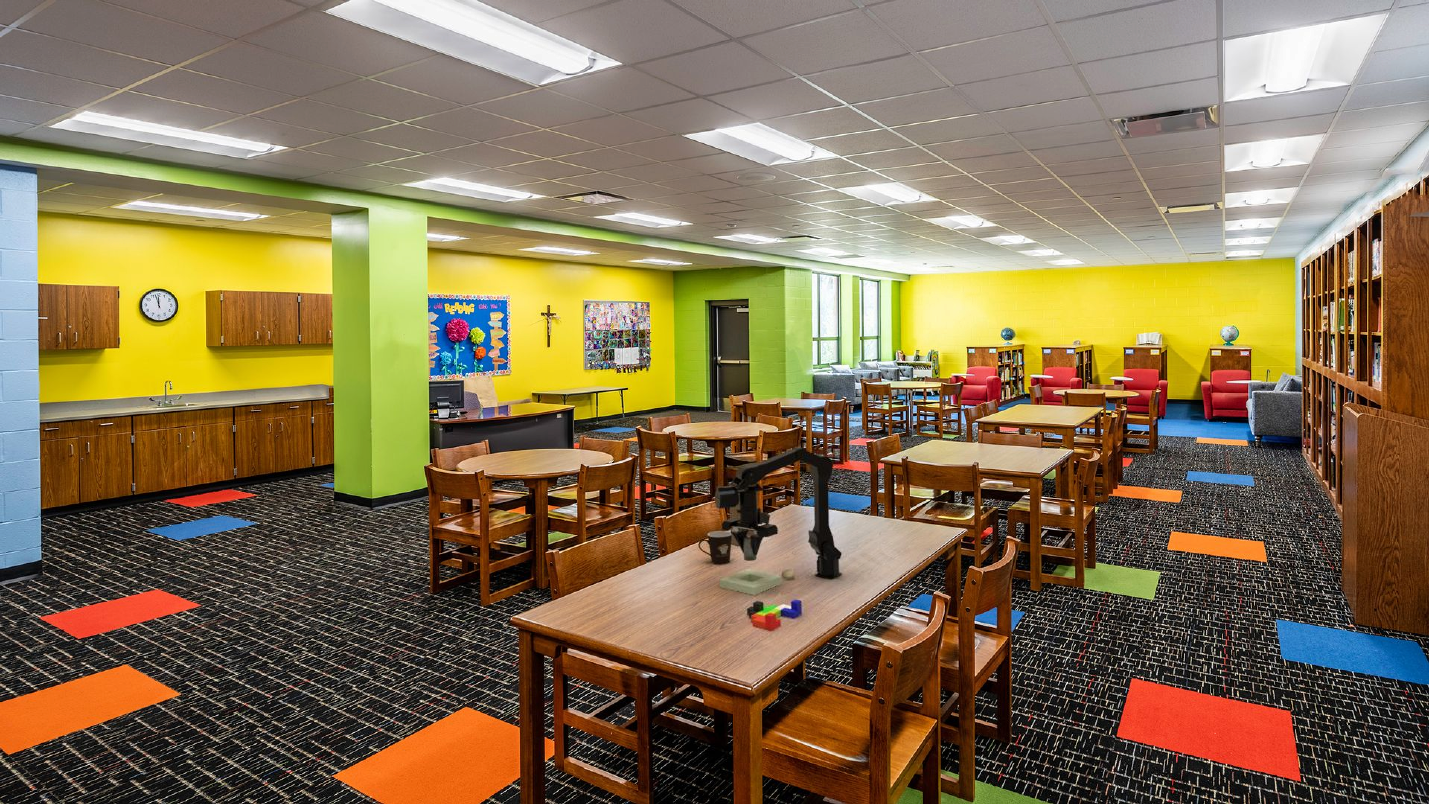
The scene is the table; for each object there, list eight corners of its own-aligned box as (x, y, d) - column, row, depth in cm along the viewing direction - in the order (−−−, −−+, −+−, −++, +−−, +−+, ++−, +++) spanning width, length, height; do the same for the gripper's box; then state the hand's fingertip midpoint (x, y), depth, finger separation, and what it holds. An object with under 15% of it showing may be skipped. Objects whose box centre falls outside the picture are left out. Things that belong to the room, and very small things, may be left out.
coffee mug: (733, 558, 279) (732, 531, 279) (732, 565, 271) (731, 537, 270) (701, 558, 281) (700, 531, 280) (698, 565, 272) (697, 537, 271)
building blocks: (764, 607, 228) (764, 592, 228) (802, 615, 220) (801, 600, 220) (733, 622, 216) (733, 607, 216) (772, 632, 208) (771, 616, 208)
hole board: (782, 583, 248) (781, 576, 248) (754, 595, 237) (754, 587, 237) (747, 576, 257) (747, 569, 257) (719, 587, 247) (719, 579, 247)
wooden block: (751, 548, 293) (749, 500, 291) (728, 544, 299) (727, 498, 298) (757, 546, 296) (755, 499, 294) (734, 542, 302) (732, 496, 301)
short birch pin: (796, 578, 254) (796, 570, 254) (789, 581, 251) (789, 573, 251) (786, 576, 257) (786, 568, 256) (779, 579, 254) (779, 571, 253)
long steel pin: (759, 558, 247) (758, 536, 246) (751, 561, 244) (750, 539, 243) (749, 556, 250) (748, 535, 249) (741, 559, 247) (740, 537, 246)
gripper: (787, 504, 245) (789, 552, 246) (741, 498, 258) (743, 544, 259) (765, 510, 237) (767, 561, 238) (719, 504, 249) (721, 552, 251)
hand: (750, 554), depth 247 cm, fingers closed on long steel pin, 4 cm apart
